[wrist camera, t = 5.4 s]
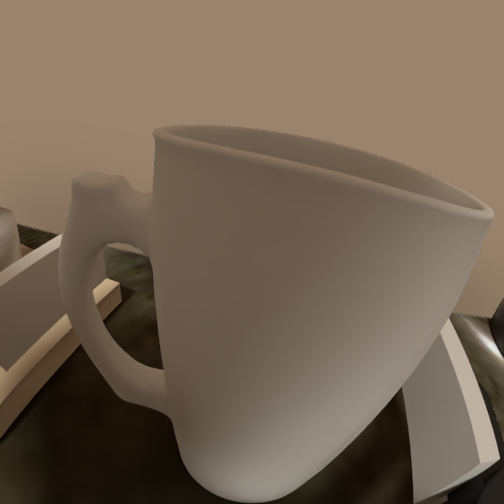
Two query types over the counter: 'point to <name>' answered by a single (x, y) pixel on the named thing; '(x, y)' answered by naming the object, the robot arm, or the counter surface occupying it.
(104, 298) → the board with round cheese
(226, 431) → the mug
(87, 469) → the counter surface
